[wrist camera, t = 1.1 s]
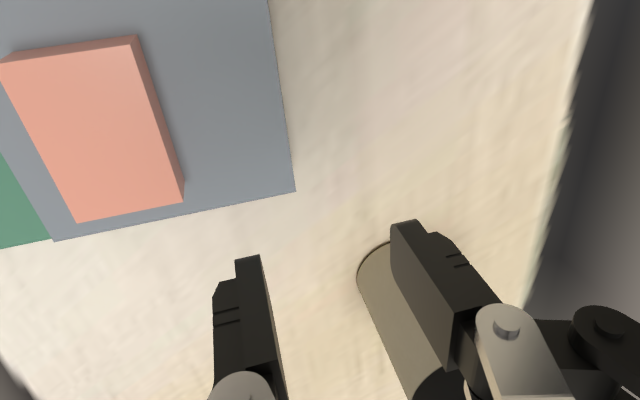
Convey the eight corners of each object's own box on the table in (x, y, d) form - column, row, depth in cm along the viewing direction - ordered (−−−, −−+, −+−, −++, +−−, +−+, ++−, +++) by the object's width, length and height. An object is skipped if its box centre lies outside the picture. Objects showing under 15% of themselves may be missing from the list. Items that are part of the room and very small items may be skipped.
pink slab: (12, 52, 20) (-9, 64, 18) (136, 34, 21) (129, 44, 19) (86, 200, 25) (76, 223, 23) (184, 181, 26) (183, 201, 24)
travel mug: (358, 306, 43) (440, 500, 28) (352, 249, 38) (446, 444, 24) (429, 286, 44) (544, 463, 29) (431, 229, 39) (568, 403, 25)
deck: (-44, -5, 22) (-87, 5, 19) (253, -42, 24) (261, -38, 21) (70, 208, 30) (53, 242, 26) (286, 165, 32) (296, 191, 29)
